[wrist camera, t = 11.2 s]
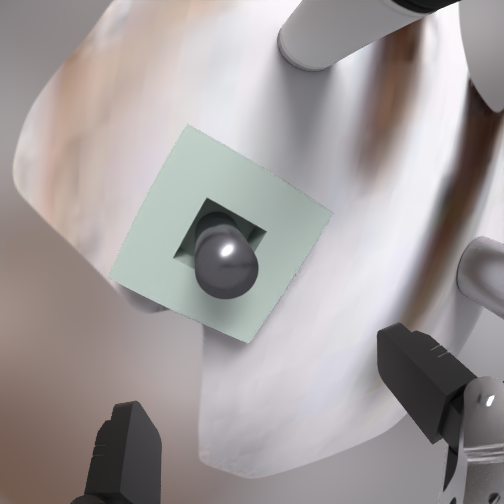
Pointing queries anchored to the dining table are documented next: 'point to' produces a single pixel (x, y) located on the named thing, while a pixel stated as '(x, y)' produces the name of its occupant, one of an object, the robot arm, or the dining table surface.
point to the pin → (223, 257)
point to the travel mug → (344, 27)
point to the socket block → (244, 214)
